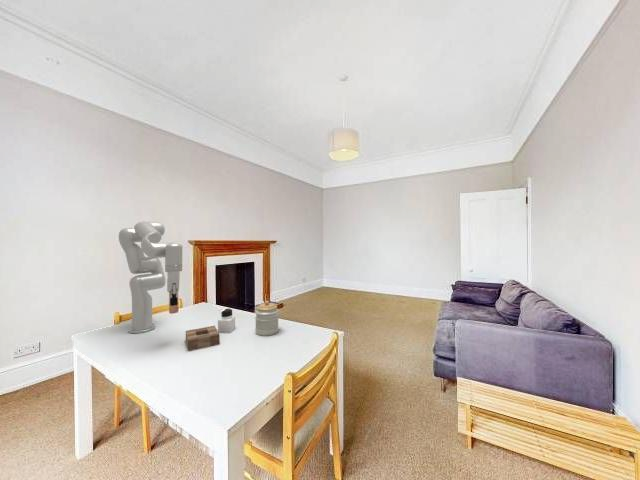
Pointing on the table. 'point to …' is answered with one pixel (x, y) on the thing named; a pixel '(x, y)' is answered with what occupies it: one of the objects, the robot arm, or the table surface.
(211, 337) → the socket block
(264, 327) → the jar
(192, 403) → the table surface
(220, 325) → the medicine bottle
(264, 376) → the table surface
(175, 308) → the peg
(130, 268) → the robot arm
